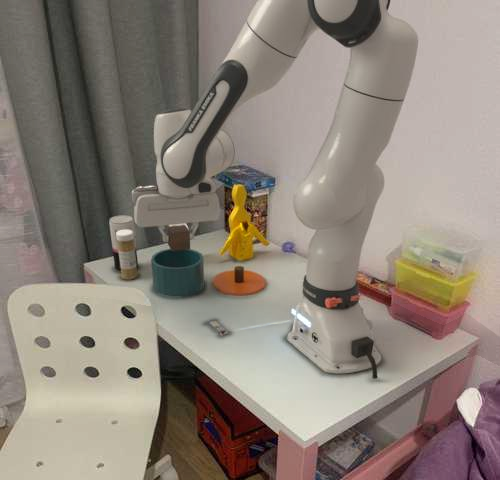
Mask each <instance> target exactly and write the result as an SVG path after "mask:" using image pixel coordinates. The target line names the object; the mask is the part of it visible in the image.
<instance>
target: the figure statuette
mask: <svg viewBox="0 0 500 480" xmlns="http://www.w3.org/2000/svg"><path fill="white" fill-rule="evenodd" d="M232 186H233V187H232V191H231V199H232V201H233V204H234V207H233V209H232V211H231V213H230V214H229V217H228V226H229V230H230V231H229V236H228V238H227V239H226V241H225V243H224V245H223V246H222V248H221V250H220V251H219V254H218V255H220V256H223V255H224V254H225V253H226V252H227V251H228V254H229V256H231V257H232V258H233V259H235V260H237V261H245V260H250V259H252V258H254V257H255V256H254V255H255V254H254V244H253V242H254V241H253V239H254V237H255V238H256V239H257V240H258V241H259V242H260V243H261V244H262V245H264V246H265V247H267V246H270V245H271V244H270V242H269V241H268V239H267V238H265V236H264V235H263V234H262V233H261V232H260V231H259V229H258V228H257V227H256V225H255V224H254V223H251V222H252V217H251V215H250V214H249V212H248V211H247V209H246V208H245V203H246V200H247V196H248V195H247V194H248V193H247V190H246V188H245V185H243V184H239V183H238V184H233V185H232Z"/></svg>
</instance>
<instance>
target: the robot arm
mask: <svg viewBox="0 0 500 480" xmlns="http://www.w3.org/2000/svg"><path fill="white" fill-rule="evenodd" d="M390 4H391V0H257V1H256V2H255V4H254V6H253V7H252V9H251V11H250V13H249V15H248V16H247V18H246V20H245V22H244V24H243V26H242V28H241V30H240V32H238V36H237V37H236V39H235V40H234V42H233V45H232V47H231V48H230V50H229V52H228V53H227V55H226V56H225V57H224V60H223V61H222V63H221V64H220V66H219V67H218V69H217V70H216V71H215V73H214V75H213V76H212V77H211V79H210V80H209V82H208V84H206V87H205V88H204V90H203V92H202V93H201V94H200V96H199V98H198V99H197V101H196V103H195V105H194V106H193V108H192V109H189V108H187V107H179V108H178V107H177V108H171V109H166V110H161V111H159V112H158V113H157V114H156V115H155V117H154V123H153V147H154V148H153V149H154V154H155V157H156V165H155V177H156V178H155V179H156V184H150V185H144V186H143V185H138V186H136V188H134V189H133V190H132V191H131V193H130V197H131V203H132V205H133V221H134V224H136V226H137V227H138V228H150V227H151V228H152V227H157V229H158V230H159V232H160V234H161V235H162V241H163V243H168V242H170V235H169V233H167V232H165V231H164V230H165V229H166V226H169V225H173V224H183V223H186V224H190V225H191V227H190V228H189V231H190V241H192V240H195V233H196V231H197V229H198V228H199V223H203V222H213V221H214V222H215V221H218V220H219V218H220V217H221V207H220V200H219V196H218V195H217V193H216V187H217V186H216V184H215V182H214V180H212V179H211V178H212V177H214V176H216V175H218V174H221V173H222V172H224V171H226V170H227V169H229V168H230V167H231V166H232V164H233V162H234V160H235V155H236V154H235V153H236V152H235V150H236V149H235V145H234V142H233V140H232V138H231V136H230V135H229V133H227V132H226V131H225V130H224V129H223V128H224V126H225V124H226V123H227V122H228V120H229V119H230V117H231V116H232V115H233V114H234V112H235V111H237V109H239V108H240V107H241V106H243V104H245V103H247V102H249V101H250V100H252V99H253V98H255V97H257V96H258V95H261V94H263V93H265V92H267V91H269V90H271V89H273V88H274V87H276V86H277V85H278V83H279V82H280V81H281V80H282V79H283V78H284V77H285V76H286V74H287V73H288V72H289V70H291V68H292V67H293V65H294V63H295V62H296V60H297V59H298V57H299V55H300V54H301V52H302V50H303V48H304V47H305V46H306V43H307V42H308V41H309V39H310V38H311V37H312V35H313V34H314V33H315V32H317V31H318V30H321V31H322V32H323V33H324V34H326V36H329V37H331V38H332V39H333V40H335V41H336V42H337V43H339V44H340V45H342V46H343V47H344V48H348V49H349V50H350V51H349V52H350V54H349V55H350V56H349V62H348V67H347V70H346V74H345V77H344V81H343V84H342V88H341V91H340V95H339V98H338V101H337V105H336V108H335V112H334V115H333V118H332V120H331V124H330V127H329V130H328V132H327V135H326V136H325V139H324V141H323V143H322V145H321V146H320V149H319V151H318V153H317V155H316V157H315V159H314V161H313V164H312V165H311V167H310V168H309V171H308V173H307V174H306V177H305V178H304V179H303V181H302V182H301V183H300V185H298V187H297V188H296V190H295V192H294V195H293V200H292V201H293V203H292V205H293V210H294V213H295V215H296V218H297V219H298V220H299V222H300V223H302V225H303V226H305V227H306V228H308V229H311V230H314V231H315V232H314V233H313V236H312V237H311V239H310V241H309V244H308V248H307V249H308V250H307V260H306V261H307V262H306V272H305V275H304V276H303V281H302V297H301V299H300V301H299V302H298V304H297V305H296V307H295V309H294V308H291V314H293V316H294V317H293V318H294V319H293V323H292V330H291V331H289V332H288V334H287V337H286V340H287V342H289V343H290V344H291V345H292V346H293V347H294V348H296V349H297V350H298V351H299V352H300V353H302V354H303V355H304V356H305V357H307V358H308V359H309V360H310V361H311V362H312V363H314V364H315V365H316V366H317V367H318V368H319V369H321V370H322V371H323V372H324V373H329V374H339V375H340V374H350V373H357V372H362V371H366V370H369V369H371V372H372V379H378V367H377V365H379V364H380V363H381V362H382V355H381V354H380V352H379V351H378V349H377V348H376V346H375V345H374V343H375V341H374V340H373V332H372V330H373V321H372V320H371V319H367V318H366V316H365V314H364V308H363V307H361V305H360V302H359V301H361V300H362V298H360V297H362V294H360V287H359V282H358V275H359V266H360V261H361V255H362V250H363V246H364V243H365V240H366V237H367V233H368V231H369V228H370V225H371V222H372V219H373V216H374V212H375V209H376V206H377V203H378V201H379V199H380V197H381V195H382V193H383V191H384V188H385V175H384V173H383V171H382V169H381V167H379V165H378V164H377V162H378V160H379V158H380V157H381V155H382V153H383V152H384V151H385V149H386V148H387V147H388V145H389V143H390V141H391V138H392V135H393V133H394V130H395V127H396V125H397V121H398V119H399V116H400V113H401V110H402V107H403V105H404V102H405V99H406V96H407V93H408V90H409V87H410V83H411V80H412V77H413V73H414V68H415V63H416V59H417V53H418V47H419V36H418V33H417V32H416V30H415V29H414V27H413V26H411V24H409V23H408V22H406V21H405V20H403V19H401V18H398V17H394V16H393V15H391V14H390V13H389V8H390Z"/></svg>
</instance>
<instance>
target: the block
mask: <svg viewBox="0 0 500 480" xmlns="http://www.w3.org/2000/svg"><path fill="white" fill-rule="evenodd" d="M188 228H189V227H188ZM188 228H187V227H186V226H185V225H180V226H170V227H169V226H166V233H169V235H170V242H167V245H168V247H169V249H171V251H178V250H187V249H191V240H190V229H189V230H188Z"/></svg>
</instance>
